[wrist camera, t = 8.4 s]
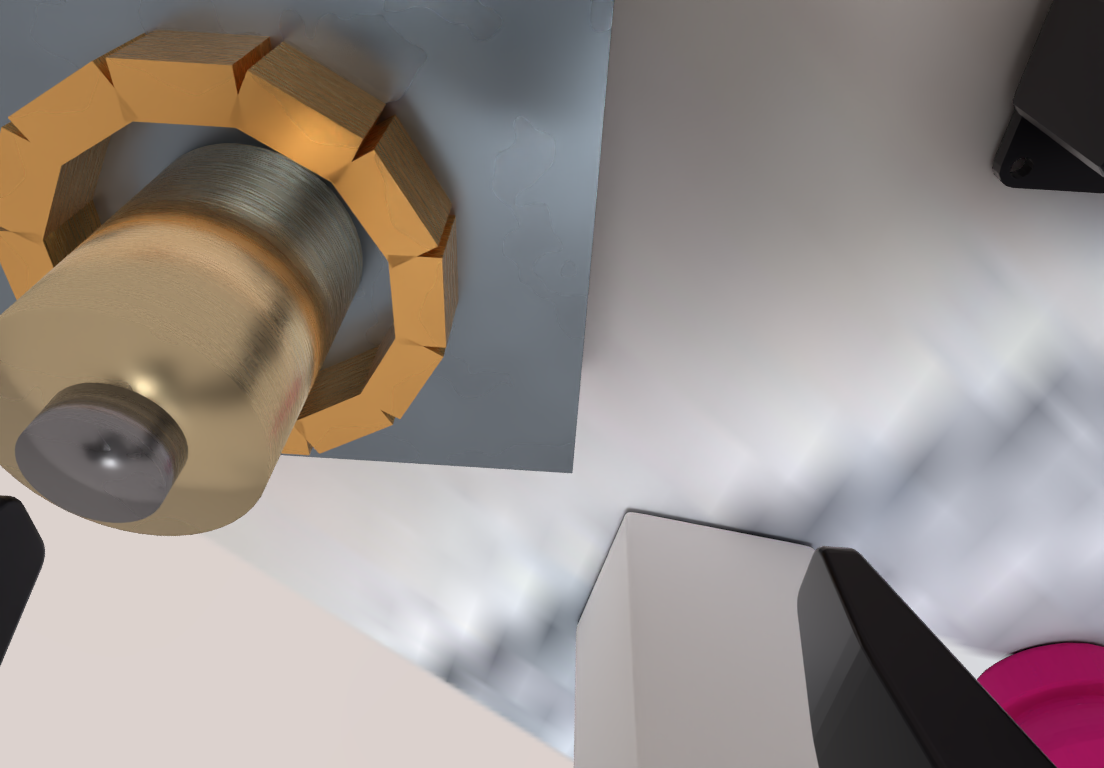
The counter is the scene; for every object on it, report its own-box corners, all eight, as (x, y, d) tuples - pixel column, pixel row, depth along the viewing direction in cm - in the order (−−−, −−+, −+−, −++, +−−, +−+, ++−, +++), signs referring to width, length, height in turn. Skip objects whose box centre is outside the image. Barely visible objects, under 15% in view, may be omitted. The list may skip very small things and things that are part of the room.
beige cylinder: (350, 150, 15) (214, 356, 9) (372, 339, 17) (275, 583, 12) (122, 135, 15) (-145, 333, 9) (178, 326, 17) (-5, 565, 12)
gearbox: (612, -93, 16) (622, -41, 11) (575, 368, 23) (570, 525, 18) (-201, -142, 16) (-557, -113, 11) (17, 334, 23) (-138, 481, 18)
